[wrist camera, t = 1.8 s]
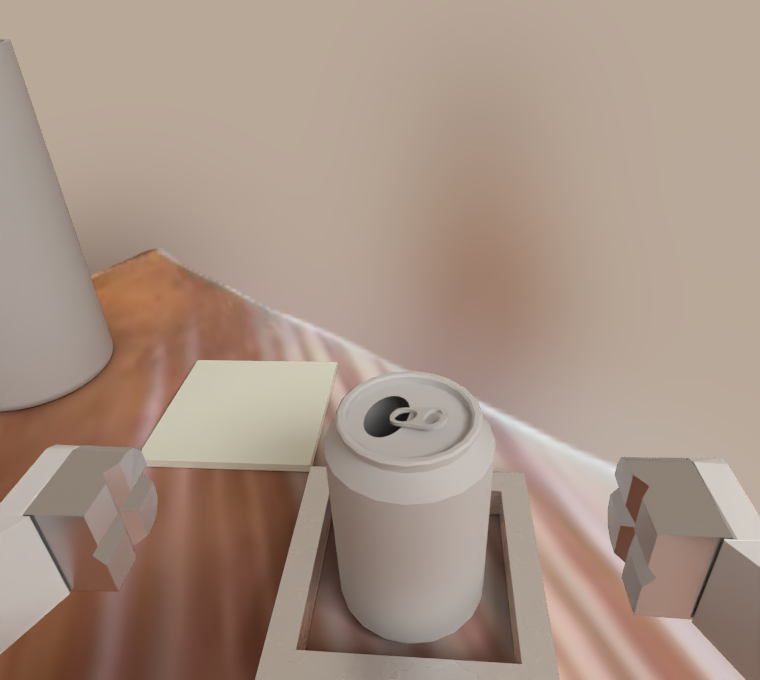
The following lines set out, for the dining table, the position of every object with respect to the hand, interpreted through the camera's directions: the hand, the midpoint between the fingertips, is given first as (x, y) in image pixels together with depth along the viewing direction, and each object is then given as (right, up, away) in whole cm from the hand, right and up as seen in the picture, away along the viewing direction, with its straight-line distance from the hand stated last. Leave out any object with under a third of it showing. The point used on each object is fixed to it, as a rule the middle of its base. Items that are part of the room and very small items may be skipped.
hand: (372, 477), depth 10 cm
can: (+2, -11, +21) cm, 24 cm away
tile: (-10, -3, +34) cm, 35 cm away
